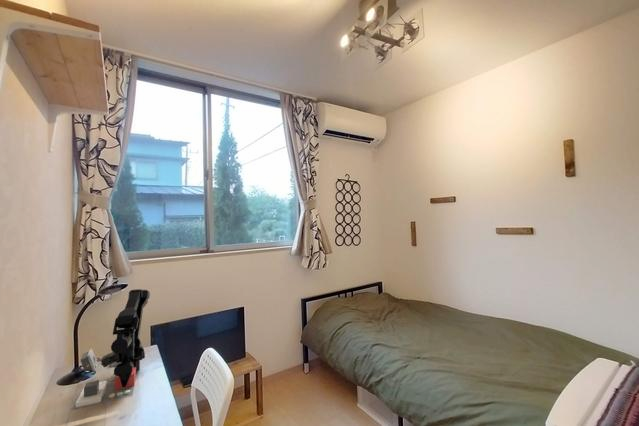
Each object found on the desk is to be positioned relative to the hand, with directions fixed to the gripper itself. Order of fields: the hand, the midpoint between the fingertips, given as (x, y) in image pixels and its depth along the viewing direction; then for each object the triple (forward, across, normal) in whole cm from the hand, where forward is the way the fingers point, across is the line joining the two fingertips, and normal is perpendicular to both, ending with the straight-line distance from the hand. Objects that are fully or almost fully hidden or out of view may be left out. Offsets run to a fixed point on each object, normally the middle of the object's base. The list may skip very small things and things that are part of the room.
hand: (125, 381), depth 125 cm
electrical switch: (+2, -24, -16) cm, 29 cm away
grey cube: (-1, +6, -10) cm, 12 cm away
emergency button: (+3, -29, -4) cm, 30 cm away
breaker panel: (+2, +4, -6) cm, 7 cm away
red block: (+1, 0, 0) cm, 1 cm away
